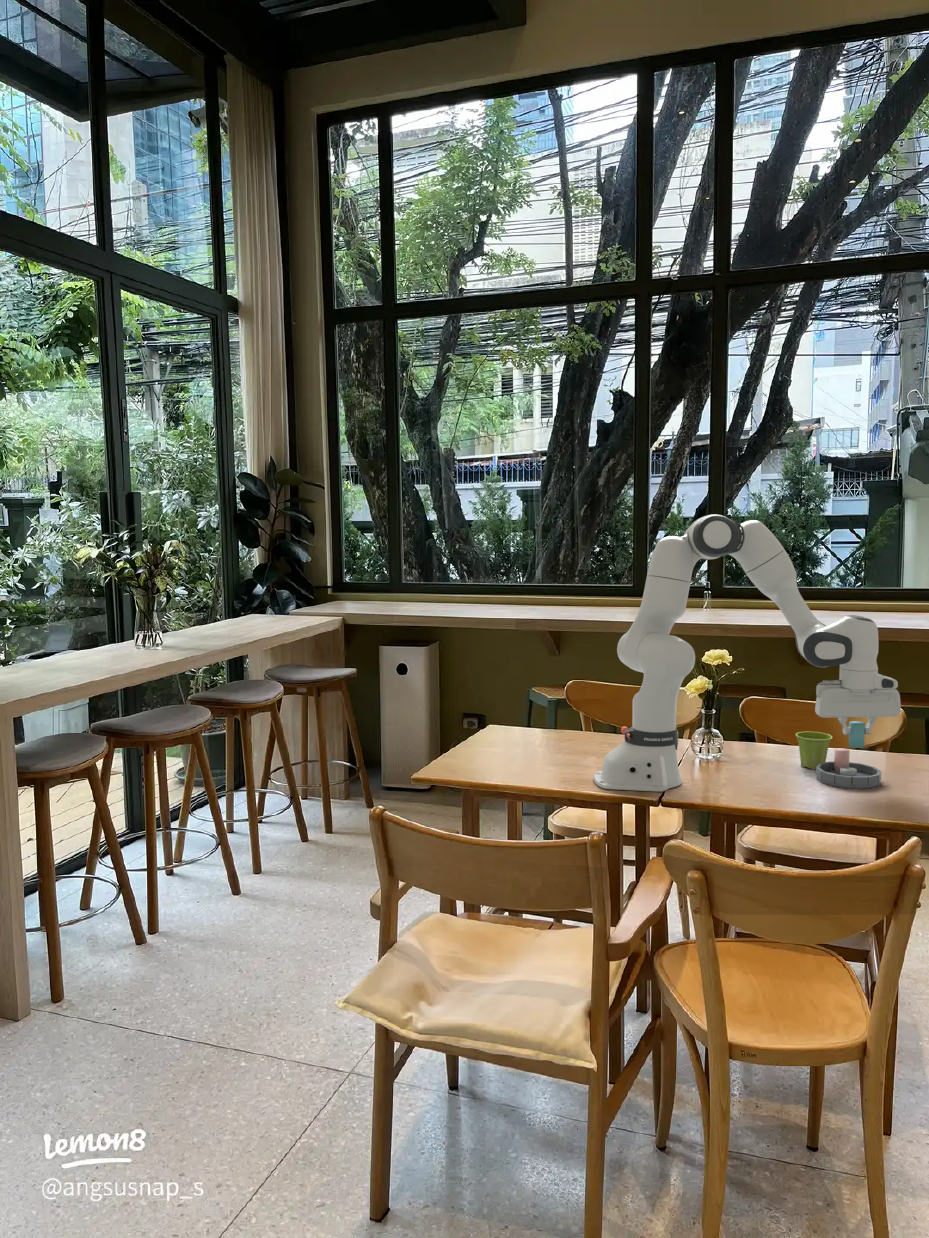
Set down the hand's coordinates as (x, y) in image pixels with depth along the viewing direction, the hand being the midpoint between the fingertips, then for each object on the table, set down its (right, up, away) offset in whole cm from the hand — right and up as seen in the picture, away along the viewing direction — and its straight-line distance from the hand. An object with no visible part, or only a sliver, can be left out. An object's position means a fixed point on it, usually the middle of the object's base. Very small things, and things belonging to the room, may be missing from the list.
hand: (856, 734), depth 230 cm
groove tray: (0, -13, +6) cm, 14 cm away
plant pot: (-4, -12, +20) cm, 23 cm away
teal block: (0, -3, 0) cm, 3 cm away
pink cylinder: (0, -11, +10) cm, 15 cm away
